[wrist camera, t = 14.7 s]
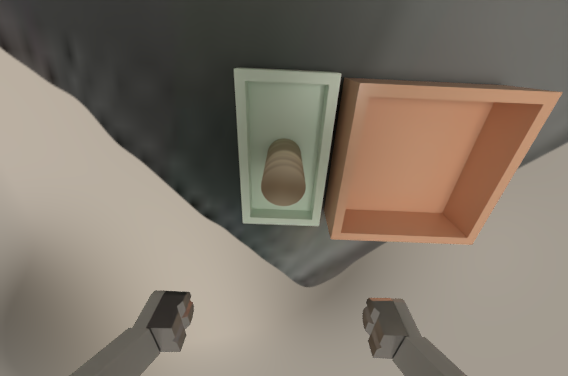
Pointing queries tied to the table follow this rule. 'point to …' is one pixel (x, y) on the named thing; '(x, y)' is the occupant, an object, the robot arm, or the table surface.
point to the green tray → (284, 136)
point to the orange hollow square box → (426, 157)
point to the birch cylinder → (283, 173)
